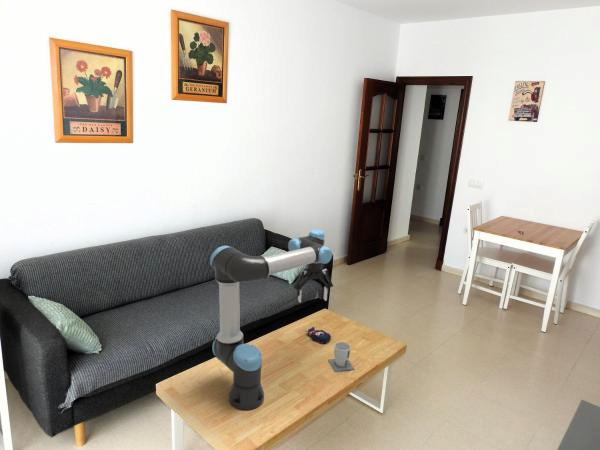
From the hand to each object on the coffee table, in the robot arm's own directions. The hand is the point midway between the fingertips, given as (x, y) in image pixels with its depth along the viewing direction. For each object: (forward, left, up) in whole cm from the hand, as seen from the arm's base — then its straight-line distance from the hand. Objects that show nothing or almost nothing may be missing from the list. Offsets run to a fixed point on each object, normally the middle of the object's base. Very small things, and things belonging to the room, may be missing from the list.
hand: (312, 300), depth 222 cm
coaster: (+12, -16, -29) cm, 35 cm away
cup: (+12, -16, -28) cm, 34 cm away
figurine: (+9, +12, -29) cm, 33 cm away
